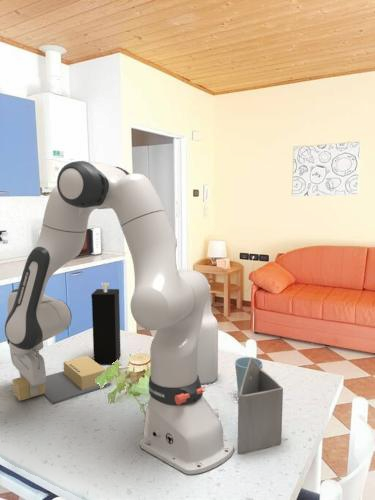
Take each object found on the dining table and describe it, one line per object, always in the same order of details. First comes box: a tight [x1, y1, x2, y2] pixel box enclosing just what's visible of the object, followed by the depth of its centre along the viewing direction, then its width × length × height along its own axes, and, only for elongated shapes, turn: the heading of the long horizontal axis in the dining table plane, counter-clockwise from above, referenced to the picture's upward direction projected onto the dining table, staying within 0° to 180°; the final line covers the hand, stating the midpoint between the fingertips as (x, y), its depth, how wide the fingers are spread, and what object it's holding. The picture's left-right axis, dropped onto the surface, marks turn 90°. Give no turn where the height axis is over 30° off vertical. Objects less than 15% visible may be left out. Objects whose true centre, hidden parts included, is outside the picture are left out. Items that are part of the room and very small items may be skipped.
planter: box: [237, 356, 284, 455], centre depth 92 cm, size 16×8×19 cm, turn 154°
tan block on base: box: [43, 355, 112, 405], centre depth 122 cm, size 18×18×5 cm
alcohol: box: [197, 284, 219, 385], centre depth 123 cm, size 9×9×30 cm
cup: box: [234, 356, 264, 397], centre depth 112 cm, size 8×8×10 cm
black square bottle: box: [90, 281, 122, 365], centre depth 138 cm, size 8×8×28 cm
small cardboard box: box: [12, 376, 45, 401], centre depth 114 cm, size 6×7×4 cm
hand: (29, 389), depth 114 cm, fingers closed on small cardboard box, 6 cm apart
